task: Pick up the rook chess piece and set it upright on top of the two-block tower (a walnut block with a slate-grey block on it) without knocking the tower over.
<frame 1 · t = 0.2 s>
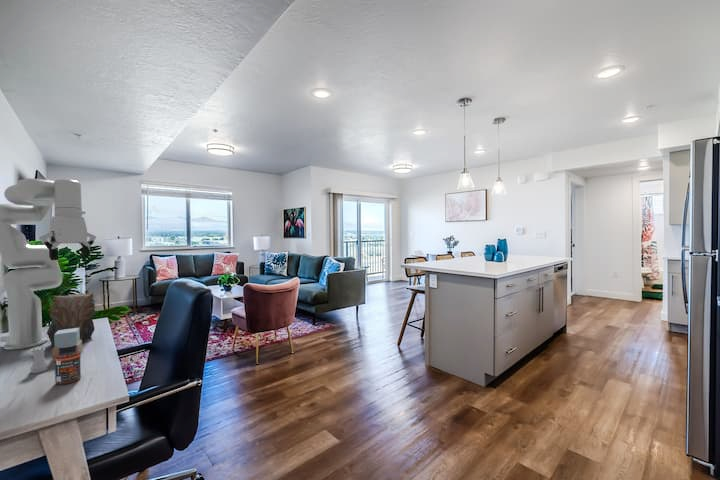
hand: (70, 258, 119), 37 cm above the table, tool pointing down, fingers open, 9 cm apart
rook chess piece: (39, 371, 107), on the table
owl: (71, 343, 134), on the table
slate block: (67, 344, 119), point 5 cm above the table
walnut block: (68, 357, 119), on the table
supplement bottle: (68, 381, 100), on the table
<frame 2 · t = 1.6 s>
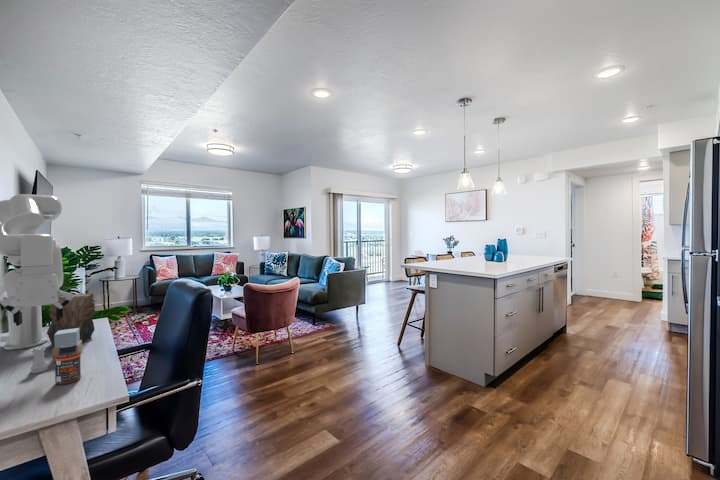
hand: (39, 322, 106), 17 cm above the table, tool pointing down, fingers open, 9 cm apart
slate block: (67, 344, 119), point 5 cm above the table, touching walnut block
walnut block: (68, 357, 119), on the table, touching slate block
everything else where it was.
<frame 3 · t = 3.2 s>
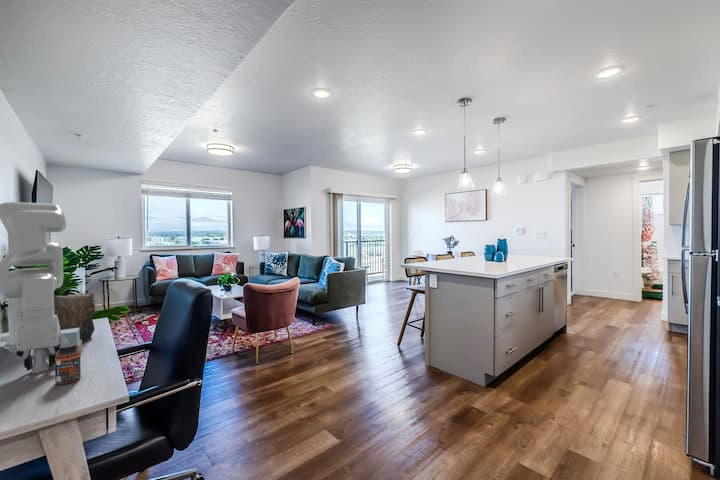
hand: (40, 366, 107), 1 cm above the table, tool pointing down, fingers open, 4 cm apart
rook chess piece: (40, 371, 107), on the table, touching gripper
everything else where it was.
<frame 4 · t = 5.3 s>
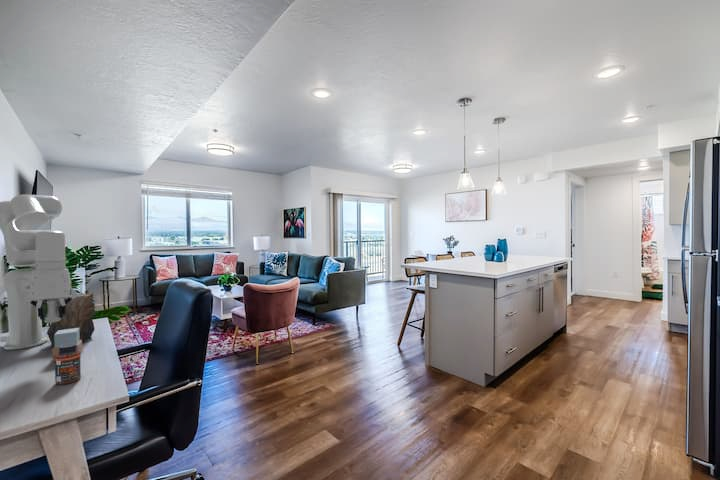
hand: (52, 317, 112), 17 cm above the table, tool pointing down, fingers closed on rook chess piece, 4 cm apart
rook chess piece: (52, 321, 113), point 15 cm above the table, touching gripper
everything else where it was.
when the fingers open (12 cm above the table, at t = 6.9 s): rook chess piece stays where it is, resting on slate block.
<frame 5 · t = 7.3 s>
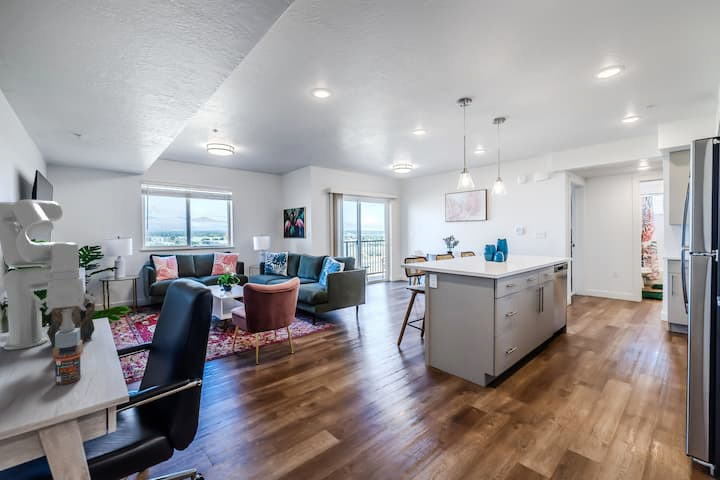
hand: (67, 322, 119), 13 cm above the table, tool pointing down, fingers open, 8 cm apart
rook chess piece: (67, 331, 119), point 10 cm above the table, touching slate block
slate block: (68, 344, 119), point 5 cm above the table, touching rook chess piece, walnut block
everything else where it was.
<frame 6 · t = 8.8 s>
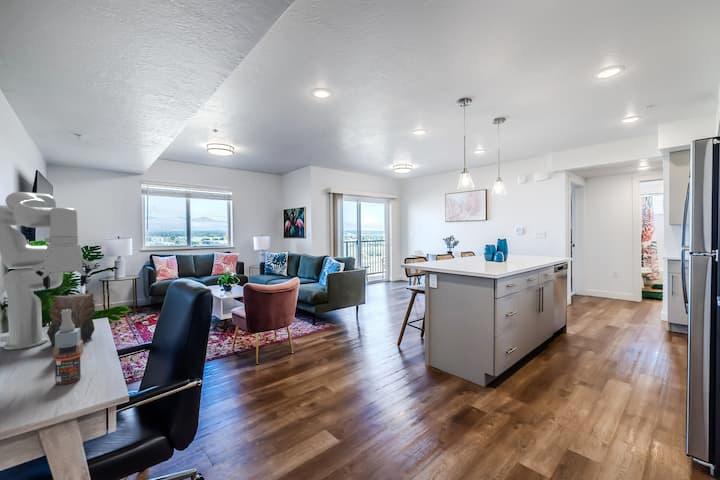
hand: (65, 287, 118), 26 cm above the table, tool pointing down, fingers open, 9 cm apart
nothing on the table moved.
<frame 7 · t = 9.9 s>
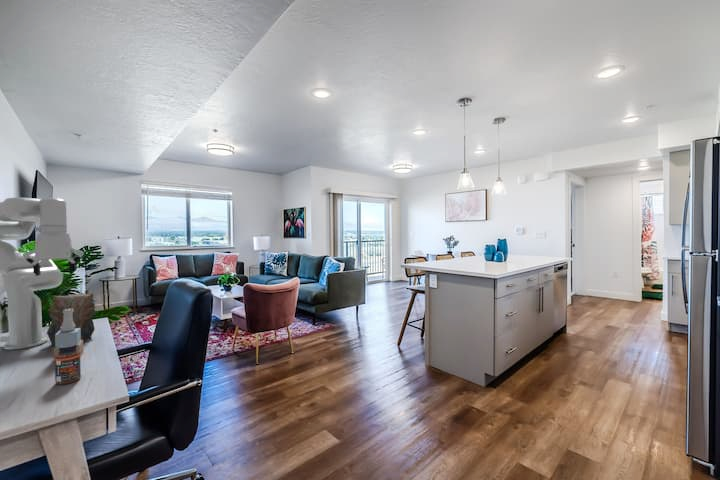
hand: (55, 274, 124), 30 cm above the table, tool pointing down, fingers open, 9 cm apart
rook chess piece: (67, 331, 119), point 10 cm above the table
slate block: (68, 344, 118), point 5 cm above the table, touching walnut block
everything else where it was.
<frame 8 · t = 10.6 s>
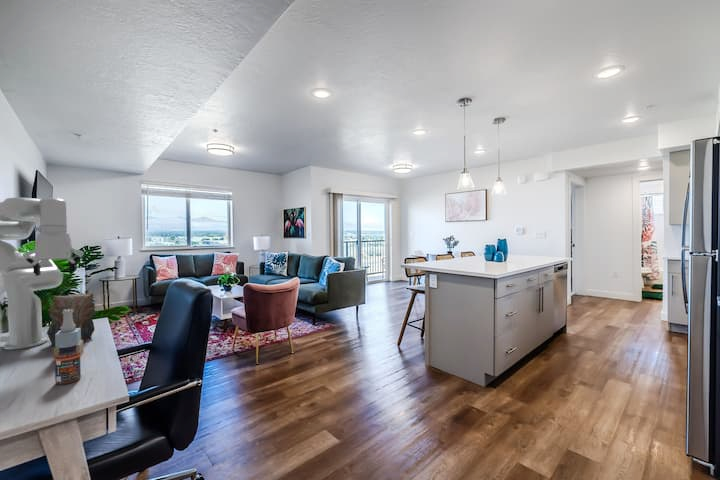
hand: (55, 274, 124), 30 cm above the table, tool pointing down, fingers open, 9 cm apart
rook chess piece: (68, 331, 119), point 10 cm above the table, touching slate block
slate block: (68, 344, 118), point 5 cm above the table, touching rook chess piece, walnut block
everything else where it was.
at the end: rook chess piece 0.5 cm off-centre on the slate block, point 4.8 cm above the slate block's base; rook chess piece tilted 0°; slate block tilted 0° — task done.
